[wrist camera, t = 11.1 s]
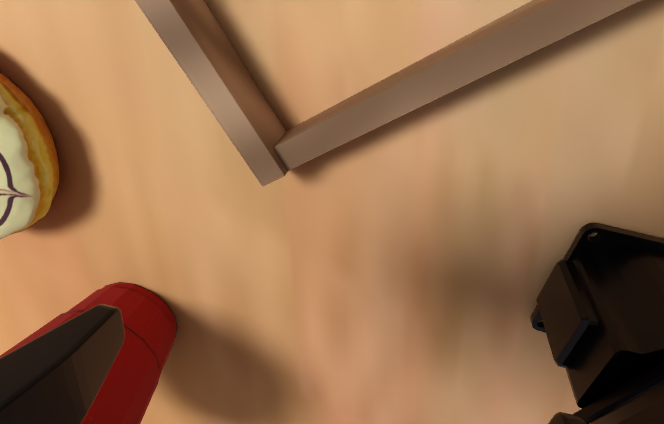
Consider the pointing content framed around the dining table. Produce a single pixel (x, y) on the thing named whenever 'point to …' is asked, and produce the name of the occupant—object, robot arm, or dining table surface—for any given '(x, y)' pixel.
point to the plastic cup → (126, 351)
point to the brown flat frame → (364, 107)
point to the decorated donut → (24, 161)
